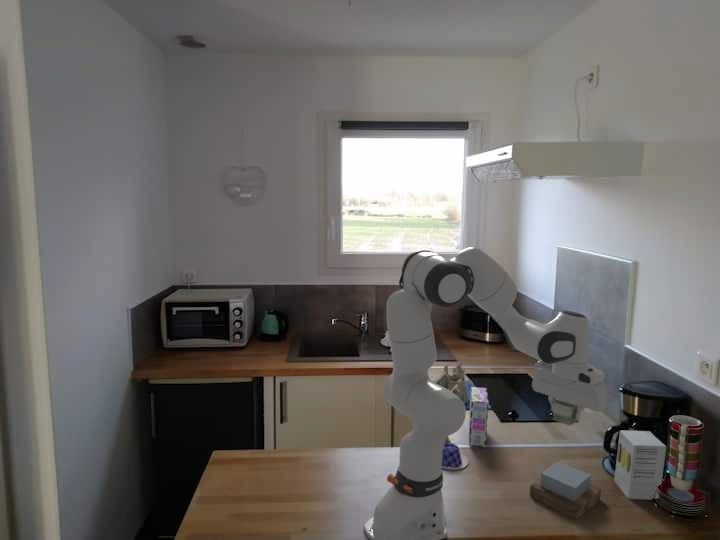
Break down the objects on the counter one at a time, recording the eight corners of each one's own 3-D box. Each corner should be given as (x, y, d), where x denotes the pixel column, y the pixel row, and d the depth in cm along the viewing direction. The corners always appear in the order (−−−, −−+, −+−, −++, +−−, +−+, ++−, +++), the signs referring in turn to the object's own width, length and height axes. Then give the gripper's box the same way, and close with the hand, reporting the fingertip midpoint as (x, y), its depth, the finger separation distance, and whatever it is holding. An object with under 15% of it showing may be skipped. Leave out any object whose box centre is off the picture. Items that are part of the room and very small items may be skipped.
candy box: (486, 448, 177) (488, 402, 174) (468, 446, 178) (471, 401, 175) (484, 429, 190) (487, 387, 187) (468, 428, 191) (470, 385, 188)
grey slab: (574, 501, 141) (575, 488, 141) (540, 486, 149) (541, 473, 148) (589, 487, 148) (591, 474, 148) (556, 473, 155) (557, 461, 155)
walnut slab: (576, 521, 139) (577, 508, 139) (529, 497, 150) (530, 485, 149) (599, 501, 148) (601, 488, 148) (554, 480, 159) (555, 468, 158)
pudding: (429, 451, 174) (429, 437, 173) (465, 453, 174) (465, 438, 173) (432, 470, 162) (432, 455, 162) (470, 472, 162) (471, 457, 161)
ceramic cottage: (436, 387, 229) (438, 355, 226) (472, 395, 222) (475, 363, 219) (424, 402, 216) (426, 368, 212) (463, 411, 209) (465, 377, 205)
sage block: (569, 425, 143) (570, 408, 142) (552, 419, 147) (553, 403, 146) (578, 420, 146) (579, 403, 145) (561, 414, 150) (562, 398, 149)
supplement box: (613, 480, 158) (618, 429, 155) (643, 481, 158) (649, 430, 155) (628, 499, 148) (634, 445, 146) (660, 500, 148) (667, 446, 146)
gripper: (529, 361, 149) (526, 406, 152) (600, 381, 134) (596, 431, 137) (540, 356, 153) (537, 400, 156) (610, 375, 138) (606, 423, 141)
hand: (565, 414), depth 146 cm, fingers closed on sage block, 5 cm apart
